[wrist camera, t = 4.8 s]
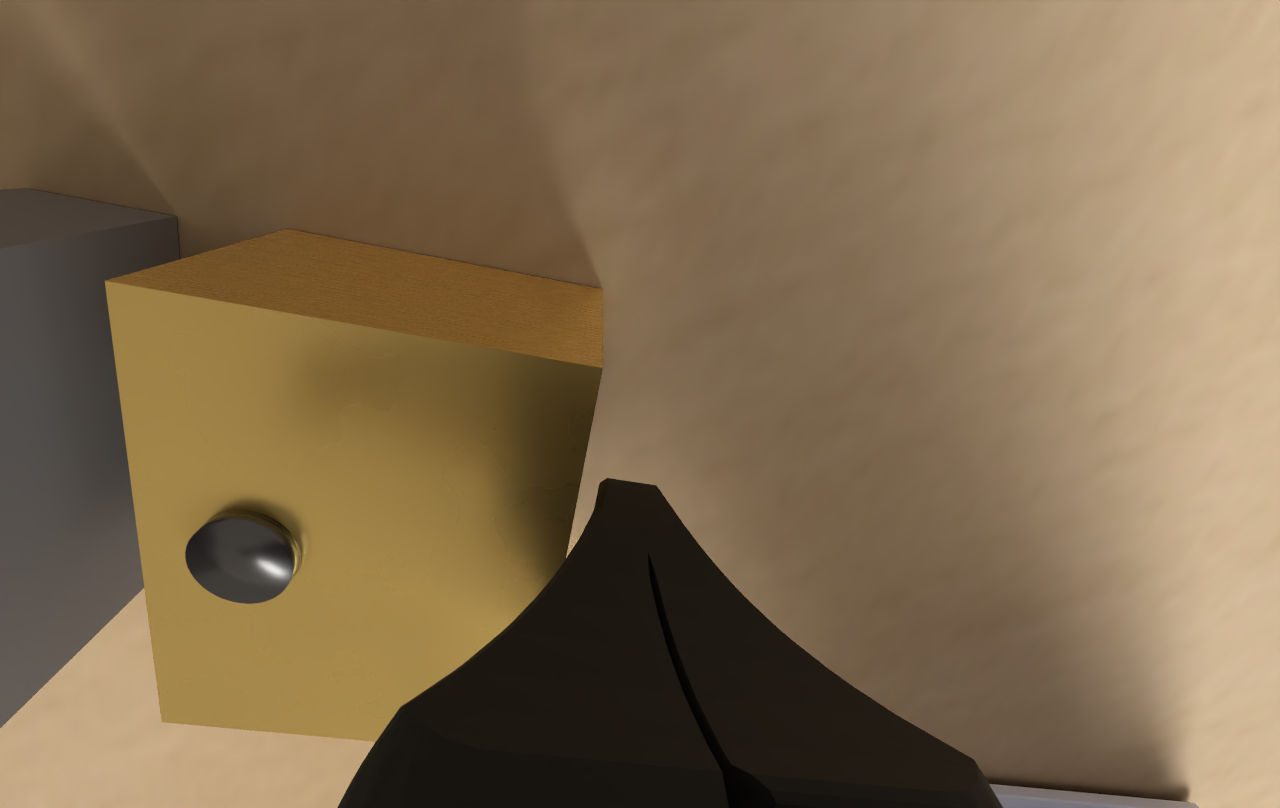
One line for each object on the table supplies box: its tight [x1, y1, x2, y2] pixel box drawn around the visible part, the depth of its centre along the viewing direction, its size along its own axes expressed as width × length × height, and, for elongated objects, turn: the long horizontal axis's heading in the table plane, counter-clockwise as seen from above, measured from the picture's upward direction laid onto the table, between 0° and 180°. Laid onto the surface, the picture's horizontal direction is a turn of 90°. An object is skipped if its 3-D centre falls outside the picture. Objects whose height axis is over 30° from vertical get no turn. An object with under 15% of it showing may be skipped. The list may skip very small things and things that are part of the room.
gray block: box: [0, 188, 180, 728], centre depth 10 cm, size 8×7×7 cm
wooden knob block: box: [105, 229, 603, 741], centre depth 11 cm, size 6×7×5 cm
